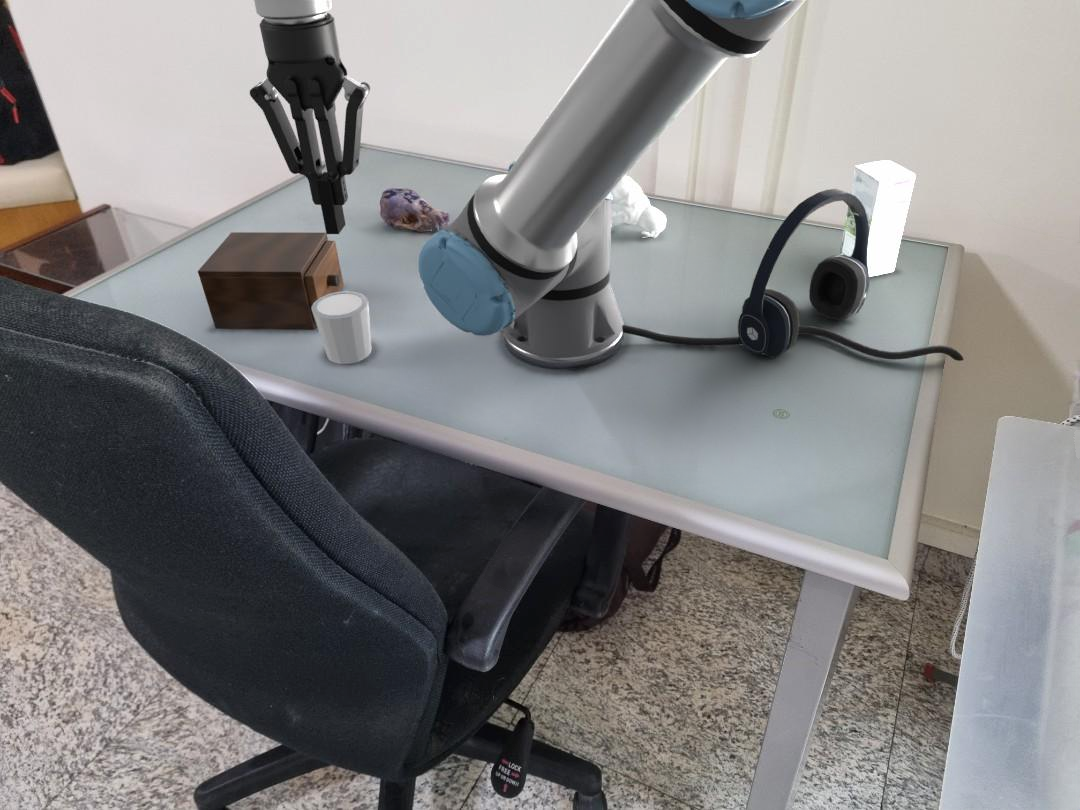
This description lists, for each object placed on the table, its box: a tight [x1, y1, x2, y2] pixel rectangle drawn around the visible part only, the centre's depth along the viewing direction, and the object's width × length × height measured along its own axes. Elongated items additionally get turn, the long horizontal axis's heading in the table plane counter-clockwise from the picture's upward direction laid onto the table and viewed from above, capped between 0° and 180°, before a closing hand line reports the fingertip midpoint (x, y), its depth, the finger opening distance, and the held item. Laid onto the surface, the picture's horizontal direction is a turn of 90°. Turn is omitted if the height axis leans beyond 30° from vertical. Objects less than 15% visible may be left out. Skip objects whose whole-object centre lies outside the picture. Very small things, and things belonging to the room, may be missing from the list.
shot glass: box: [311, 290, 373, 365], centre depth 104 cm, size 7×7×7 cm
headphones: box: [737, 188, 870, 358], centre depth 101 cm, size 20×7×18 cm, turn 127°
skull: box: [379, 187, 450, 233], centre depth 135 cm, size 12×8×6 cm, turn 54°
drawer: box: [304, 240, 344, 322], centre depth 114 cm, size 14×10×7 cm
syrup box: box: [838, 159, 916, 278], centre depth 116 cm, size 6×6×14 cm
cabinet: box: [197, 231, 329, 331], centre depth 114 cm, size 14×12×9 cm
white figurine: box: [611, 174, 667, 239], centre depth 130 cm, size 6×8×12 cm
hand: (336, 229), depth 100 cm, fingers closed
